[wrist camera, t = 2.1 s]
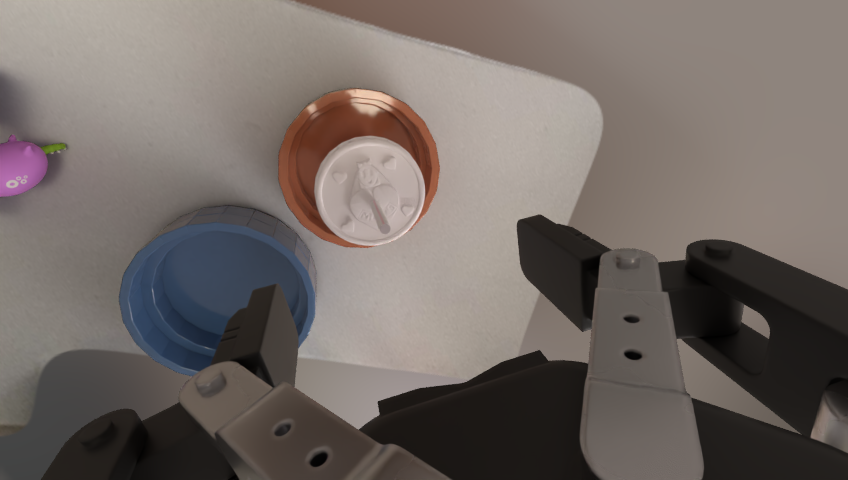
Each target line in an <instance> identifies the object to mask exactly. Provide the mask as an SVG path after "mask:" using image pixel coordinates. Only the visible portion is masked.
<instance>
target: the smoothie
mask: <svg viewBox="0 0 848 480" xmlns="http://www.w3.org/2000/svg"><path fill="white" fill-rule="evenodd" d="M314 194H315V199H316V205H317V208H318V211H319V214H320V216H321V218H322V220H323V221H324V223H325V224H326V225H327V227H328V228H329V229H330V230H331V231H332V232H333V233H335V234H336V235H337V236H339V237H340V238H342V239H344V240H346V241H348V242H351V243H354V244H358V245H364V246H375V245H381V244H386V243H388V242H391V241H393V240H395V239H397V238H399V237H401V236H402V235H403V234H405V233H406V232H407V231H408V230H409V229H410V228H411V227H412V226H413V225H414V223H415V222H416V220H417V219H418V217H419V215H420V213H421V211H422V208H423V204H424V199H425V184H424V179H423V176H422V173H421V170H420V168H419V166H418V165H417V163H416V162H415V160H414V159H413V158H412V156H411V155H410V153H409V152H407V151H406V150H405V149H404V148H403V147H401V146H400V145H399V144H397V143H395V142H393V141H391V140H389V139H386V138H382V137H376V136H362V137H355V138H352V139H350V140H347V141H345V142H342V143H341V144H339V145H338V146H337V147H335V148H334V149H333V150H331V151H330V152H329V153H328V155H327V156H326V157H325V159H324V160H323V161H322V163H321V164H320V167H319V169H318V172H317V175H316V177H315V187H314Z"/></svg>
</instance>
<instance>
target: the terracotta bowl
mask: <svg viewBox="0 0 848 480" xmlns="http://www.w3.org/2000/svg"><path fill="white" fill-rule="evenodd" d="M362 136H376V137H382V138H386V139H389V140H391V141H393V142H395V143H397V144H399V145H400V146H401V147H403V148H404V149H405V150H406V151H407V152H409V153H410V155H411V156H412V158H413V159H414V160H415V162H416V163H417V165H418V166H419V168H420V170H421V173H422V176H423V179H424V184H425V199H424V204H423V208H422V211H421V213H420V215H419V217H418V219H417V220H416V222H415V223H414V225H413V226H412V227H411V228H410V229H409V230H408V231H410V230H411V229H412V228H413V227H414V226H415V225H416V224H417V223H418V222H419V221H420V219H421V218H422V217H423V216H424V215H425V214H426V212H427V211H428V209H429V207H430V204H431V202H432V200H433V198H434V196H435V194H436V191H437V185H438V178H439V171H440V166H439V160H438V154H437V148H436V143H435V141H434V139H433V137H432V135H431V134H430V132H429V130H428V128H427V126H426V124H425V122H424V121H423V120H422V119H421V118H420V117H419V116H418V115H417V114H416V113H415V112H414V111H413V110H412V109H411V108H410V107H409V106H408V105H407V104H405V103H404V102H402V101H400V100H398V99H396V98H394V97H392V96H390V95H388V94H386V93H384V92H381V91H374V90H367V89H359V88H347V89H342V90H337V91H332V92H328V93H326V94H324V95H323V96H321V97H319V98H318V99H316V100H314V101H313V102H311V103H309V104H308V105H307V106H306V107H305V108H304V109H303V110H302V111H301V113H300V114H299V115H298V116H297V118H296V119H295V120H294V121H293V122H292V124H291V125H290V126H289V127H288V129H287V132H286V134H285V137H284V140H283V143H282V146H281V148H280V151H279V169H278V179H279V183H280V186H281V189H282V192H283V195H284V198H285V201H286V204H287V206H288V207H289V208H290V210H291V211H292V212H293V214H294V215H295V216H296V218H297V219H298V220H299V222H300V223H301V224H302V225H303V226H304V227H306V228H307V229H308V230H310V231H311V232H313V233H314V234H315V235H317V236H318V237H320V238H321V239H323V240H326V241H329V242H332V243H335V244H338V245H341V246H344V247H360V248H369V247H373V246H364V245H358V244H354V243H351V242H348V241H346V240H344V239H342V238H340V237H339V236H337V235H336V234H335V233H333V232H332V231H331V230H330V229H329V228H328V227H327V225H326V224H325V223H324V221H323V220H322V218H321V216H320V214H319V211H318V208H317V205H316V199H315V194H314V187H315V177H316V175H317V172H318V169H319V167H320V164H321V163H322V161H323V160H324V159H325V157H326V156H327V155H328V153H329V152H330V151H331V150H333V149H334V148H335V147H337V146H338V145H339V144H341V143H342V142H345V141H347V140H350V139H352V138H355V137H362ZM408 231H407V232H408ZM407 232H406V233H407ZM393 241H394V240H393ZM391 242H392V241H391ZM375 246H377V245H375Z"/></svg>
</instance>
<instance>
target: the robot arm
mask: <svg viewBox="0 0 848 480" xmlns="http://www.w3.org/2000/svg"><path fill="white" fill-rule="evenodd" d="M517 235H518V246H519V256H520V264H521V268H522V271H523V273H524V275H525V277H526V278H527V279H528V280H529V281H530V282H531V283H532V284H533V285H534V286H535V287H536V288H537V289H538V290H539V291H540V292H541V293H542V294H544V295H545V297H547V298H548V299H549V300H550V301H551V302H552V303H553V304H554V305H555V306H556V307H557V308H558V309H559V310H560V311H561V312H562V313H563V314H564V315H565V316H566V317H567V318H568V319H570V321H571V322H573V323H574V324H575V325H576V326H577V327H578V328H579V329H580V330H581V331H582V332H584V331H587V330H590V329H592V330H591V341H590V352H589V362H588V364H587V363H582V362H576V361H565V360H560V361H559V360H558V361H557V360H556V361H548V360H547V359H546V357H545V356H544V355H543V354H542V352H541V351H540V350H538V351H535V352H532V353H529V354H526V355H523V356H519V357H516V358H513V359H510V360H507V361H504V362H501V363H499V364H497V365H496V366H494V367H492V368H490V369H489V370H487V371H485V372H483V373H482V374H480V375H478V376H476V377H474V378H473V379H471V380H469V381H467V382H465V383H460V384H452V385H443V386H434V387H426V388H419V389H415V390H412V391H409V392H406V393H403V394H400V395H397V396H393V397H390V398H387V399H384V400H381V401H378V407H379V412H380V415H379V416H377V417H375V418H374V419H372V420H371V421H370V422H368V423H367V424H365V425H364V426H363V427H362V428H360V429H359V430H358V429H356V428H355V427H353V426H351V425H350V424H349V423H347V422H346V421H344V420H343V419H341V418H340V417H338V416H337V415H335V414H334V413H332V412H331V411H329V410H328V409H326V408H325V407H323V406H322V405H320V404H319V403H317V402H316V401H314V400H313V399H311V398H310V397H308V396H306V395H305V394H304V393H302V392H300V391H299V390H297V389H296V388H294V385H295V374H296V365H297V355H298V345H299V340H298V333H297V329H296V325H295V323H294V320H293V317H292V315H291V312H290V309H289V307H288V304H287V301H286V299H285V296H284V293H283V291H282V288H281V287H280V285H279V284H278V283H277V284H273V285H269V286H266V287H262V288H258V289H254V290H253V291H252V294H251V297H250V300H249V303H248V305H247V307H246V308H243V309H239V310H238V311H237V312H236V313H235V314H234V315H233V316H232V317H231V318H230V319H229V320H228V323H227V325H226V327H225V330H224V333H223V335H222V337H221V340H220V341H221V342H219V345H218V347H217V350H216V352H215V355H214V357H213V359H212V362H211V364H210V366H209V367H207V368H205V369H203V370H201V371H199V372H198V373H196V374H195V375H194V376H192V377H191V378H190V379H189V380H188V381H187V382H186V383H185V384H184V385H183V386H182V388H181V389H180V391H179V394H178V400H179V403H177V404H175V405H173V406H171V407H170V408H168V409H166V410H164V411H162V412H159V413H158V414H156V415H153V416H151V417H149V418H147V419H145V420H143V421H141V419H140V418H139V416H138V415H137V413H136V412H135V411H134V410H132V409H120V410H116V411H112V412H110V413H107V414H105V415H103V416H100V417H99V418H97V419H95V420H93V421H92V422H90V423H88V424H87V425H85V426H84V427H82V428H81V429H80V430H79V431H77V432H76V433H75V434H74V435H73V436H72V437H71V438H70V439H69V440H68V441H67V442H66V443H65V444H64V446H63V447H62V448H61V450H60V452H59V453H58V455H57V456H56V458H55V459H54V461H53V462H52V464H51V465H50V467H49V468H48V470H47V471H46V473H45V474H44V476H43V477H42V479H41V480H848V290H847V289H845V288H843V287H840V286H838V285H836V284H833V283H831V282H828V281H826V280H824V279H822V278H819V277H816V276H814V275H812V274H810V273H807V272H805V271H803V270H800V269H798V268H796V267H793V266H791V265H788V264H786V263H784V262H781V261H779V260H777V259H774V258H772V257H770V256H767V255H765V254H762V253H760V252H758V251H755V250H753V249H751V248H748V247H746V246H744V245H741V244H738V243H735V242H731V241H725V240H700V241H696V242H694V243H691V244H690V245H688V246H687V250H686V260H680V261H670V262H658V260H657V258H656V257H655V256H654V255H652V254H650V253H648V252H646V251H642V250H638V249H629V248H626V249H625V248H624V249H615V250H611V249H609V248H607V247H605V246H604V245H602V244H600V243H599V242H597V241H595V240H594V239H590V237H588V236H587V235H585V234H582V233H581V232H580V231H578V230H576V229H574V228H573V227H569V226H565V225H561V224H556V223H554V222H552V221H551V220H549V219H547V218H546V217H544V216H542V215H536V216H532V217H528V218H524V219H521V220H519V221H518V222H517ZM744 305H746V306H748V307H750V308H751V309H753V310H755V311H757V312H758V313H760V314H761V315H762V316H763V317H764V318H765V319H766V321H767V322H768V325H769V327H770V337H769V339H768V338H766V337H765V336H763V335H761V334H760V333H758V332H756V331H755V330H753V329H752V328H750V327H748V326H747V325H745V324H744V323H742V322H741V320H742V314H743V308H744ZM677 339H682V340H683V341H684V342H685V343H686V344H688V345H689V346H690V347H691V348H693V349H694V350H695V351H696V352H698V353H699V354H700V355H702V356H703V357H704V358H705V359H707V360H708V361H709V362H710V363H712V364H713V365H714V366H716V367H717V368H718V369H719V370H721V371H722V372H723V373H725V374H726V375H727V376H728V377H730V378H731V379H732V380H733V381H735V382H736V383H737V384H738V385H740V386H741V387H742V388H743V389H745V390H746V391H747V392H749V393H750V394H751V395H752V396H754V397H755V398H756V399H757V400H759V401H760V402H761V403H763V404H764V405H765V406H766V407H768V408H769V409H770V410H771V411H773V412H774V413H775V414H777V415H778V416H779V417H780V418H782V419H783V420H784V421H785V422H787V423H788V424H789V425H790V426H792V427H793V428H794V429H795V430H797V431H798V432H800V433H801V434H802V435H801V434H798V433H795V432H792V431H789V430H786V429H783V428H780V427H777V426H774V425H771V424H768V423H765V422H762V421H759V420H756V419H753V418H750V417H747V416H744V415H741V414H738V413H735V412H732V411H730V410H726V409H724V408H721V407H718V406H715V405H711V404H709V403H705V402H702V401H700V400H697V399H693V398H691V397H690V395H689V394H688V393H687V392H686V389H685V384H684V378H683V373H682V367H681V362H680V356H679V350H678V345H677Z"/></svg>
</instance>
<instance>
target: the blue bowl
mask: <svg viewBox="0 0 848 480" xmlns="http://www.w3.org/2000/svg"><path fill="white" fill-rule="evenodd" d="M277 283H278V284H279V285H280V287H281V288H282V291H283V293H284V296H285V299H286V301H287V304H288V307H289V309H290V312H291V315H292V317H293V320H294V323H295V325H296V329H297V333H298V340H299V345H298V348H299V347H300V345H301V344H302V343H303V341H304V340H305V339H306V337H307V336H308V334H309V332H310V329H311V326H312V323H313V320H314V318H315V313H316V269H315V266H314V263H313V260H312V257H311V254H310V252H309V250H308V249H307V247H306V246H305V244H304V243H303V242H302V240H301V239H300V237H299V236H298V235H297V234H296V233H295V232H294V231H293V230H291V229H290V228H289V227H287V226H286V225H285V224H284V223H282V222H281V221H280V220H278V219H276V218H274V217H271V216H269V215H267V214H264V213H262V212H260V211H257V210H255V209H249V208H242V207H236V206H219V207H209V208H202V209H199V210H197V211H194V212H191V213H189V214H186V215H183V216H181V217H179V218H177V219H176V220H175V221H173V222H172V223H171V224H170V225H168V226H167V227H166V228H165V229H163V230H162V231H161V232H160V233H158V234H157V235H156V236H155V237H154V238H153V239H152V240H151V241H150V242H148V243H147V244H146V245H145V246H144V247H143V248H142V249H141V250H140V251H139V252H138V253H137V254H136V255H135V257H134V258H133V260H132V262H131V263H130V265H129V266H128V268H127V269H126V271H125V272H124V275H123V279H122V284H121V289H120V294H119V303H120V308H121V314H122V319H123V323H124V324H125V326H126V328H127V330H128V331H129V333H130V335H131V336H132V338H133V340H134V342H135V343H136V344H137V345H138V346H139V347H140V348H141V349H142V350H143V351H144V352H146V353H147V354H148V355H149V356H150V357H151V358H152V359H153V360H155V361H156V362H158V363H160V364H162V365H164V366H166V367H168V368H169V369H172V370H173V371H175V372H178V373H181V374H185V375H189V376H194V375H195V374H196V373H198V372H199V371H201V370H203V369H205V368H207V367H209V366H210V364H211V362H212V359H213V357H214V355H215V352H216V350H217V347H218V345H219V342H221V341H220V340H221V337H222V335H223V333H224V330H225V327H226V325H227V323H228V320H229V319H230V318H231V317H232V316H233V315H234V314H235V313H236V312H237V311H238V310H239V309H243V308H246V307H247V305H248V303H249V300H250V297H251V294H252V291H253V290H254V289H258V288H262V287H266V286H269V285H273V284H277Z"/></svg>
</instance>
